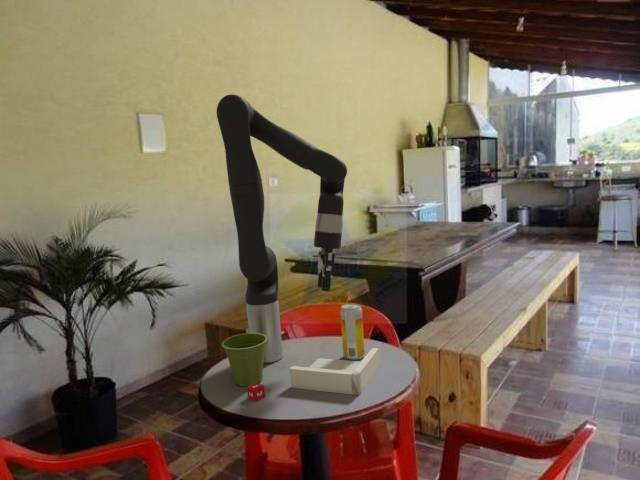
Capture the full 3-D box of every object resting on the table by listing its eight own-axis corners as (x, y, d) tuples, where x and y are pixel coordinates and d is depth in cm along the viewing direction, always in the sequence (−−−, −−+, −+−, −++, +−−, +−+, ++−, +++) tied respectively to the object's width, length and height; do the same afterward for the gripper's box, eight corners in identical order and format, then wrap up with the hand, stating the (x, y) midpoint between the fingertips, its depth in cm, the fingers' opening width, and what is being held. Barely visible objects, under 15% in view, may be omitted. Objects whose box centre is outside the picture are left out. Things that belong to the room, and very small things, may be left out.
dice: (258, 394, 125) (257, 382, 124) (265, 397, 122) (264, 385, 122) (248, 398, 123) (246, 386, 122) (255, 401, 120) (254, 390, 120)
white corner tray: (291, 387, 127) (289, 368, 126) (318, 360, 143) (317, 344, 142) (359, 395, 120) (357, 375, 119) (379, 366, 136) (378, 348, 135)
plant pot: (221, 378, 135) (216, 338, 134) (263, 368, 140) (259, 330, 139) (232, 395, 125) (227, 351, 123) (277, 384, 129) (273, 342, 128)
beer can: (365, 352, 147) (361, 302, 145) (364, 360, 141) (361, 308, 139) (344, 353, 147) (340, 303, 145) (343, 361, 141) (339, 309, 139)
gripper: (312, 230, 146) (307, 285, 146) (318, 229, 132) (313, 291, 132) (337, 232, 147) (332, 287, 147) (346, 232, 133) (341, 293, 133)
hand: (323, 289), depth 140 cm, fingers open, 8 cm apart
